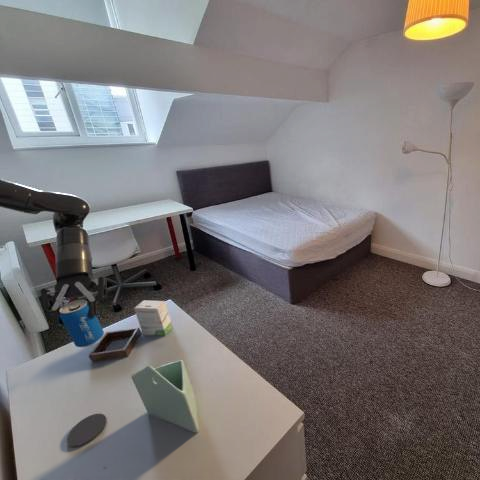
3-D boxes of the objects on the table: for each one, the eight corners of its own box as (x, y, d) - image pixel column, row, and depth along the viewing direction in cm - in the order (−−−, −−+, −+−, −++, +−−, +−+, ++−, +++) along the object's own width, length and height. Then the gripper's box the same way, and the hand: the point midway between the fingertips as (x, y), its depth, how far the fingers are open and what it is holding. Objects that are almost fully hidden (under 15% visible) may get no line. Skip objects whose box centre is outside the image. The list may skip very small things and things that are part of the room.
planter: (218, 403, 71) (202, 348, 63) (197, 433, 65) (176, 376, 56) (171, 386, 77) (151, 333, 68) (147, 413, 70) (121, 357, 62)
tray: (91, 362, 85) (88, 355, 84) (109, 338, 95) (106, 331, 94) (128, 356, 87) (125, 349, 86) (141, 333, 97) (139, 327, 95)
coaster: (60, 450, 62) (59, 449, 62) (80, 418, 69) (79, 416, 69) (96, 443, 63) (95, 441, 63) (112, 412, 70) (111, 410, 70)
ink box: (142, 335, 96) (132, 309, 91) (152, 325, 100) (142, 299, 95) (165, 336, 95) (156, 309, 90) (174, 325, 100) (165, 300, 95)
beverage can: (80, 352, 71) (60, 317, 66) (73, 342, 75) (54, 308, 70) (108, 338, 76) (92, 304, 71) (100, 328, 80) (84, 295, 75)
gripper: (32, 264, 70) (32, 328, 65) (99, 252, 75) (103, 310, 70) (49, 272, 76) (50, 330, 71) (110, 261, 82) (115, 314, 77)
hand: (77, 320), depth 71 cm, fingers closed on beverage can, 6 cm apart
